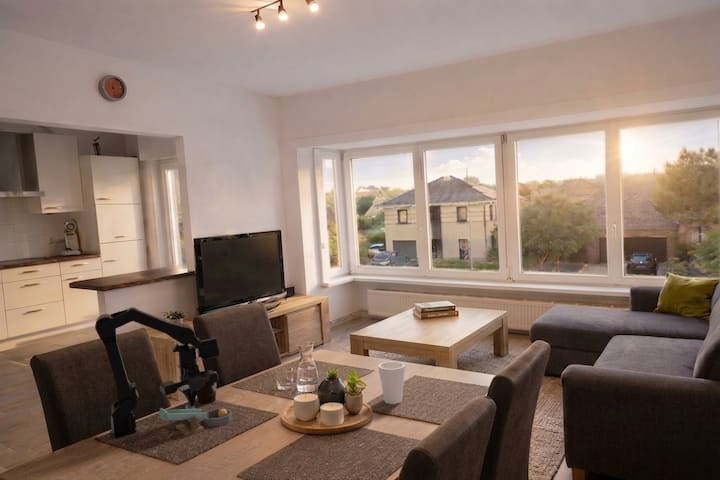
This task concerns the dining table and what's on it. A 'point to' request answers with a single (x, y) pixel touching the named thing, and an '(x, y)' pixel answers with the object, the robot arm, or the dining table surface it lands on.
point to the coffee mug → (207, 393)
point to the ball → (222, 413)
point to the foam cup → (392, 381)
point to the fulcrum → (183, 429)
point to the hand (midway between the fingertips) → (191, 406)
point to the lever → (182, 413)
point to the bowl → (217, 418)
